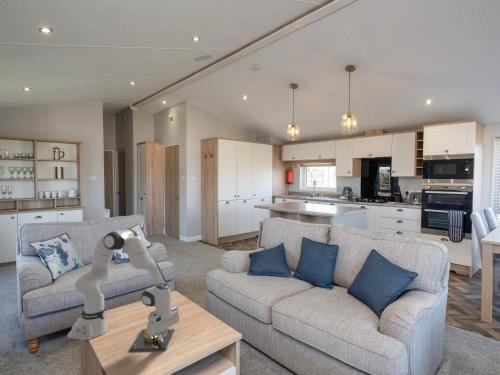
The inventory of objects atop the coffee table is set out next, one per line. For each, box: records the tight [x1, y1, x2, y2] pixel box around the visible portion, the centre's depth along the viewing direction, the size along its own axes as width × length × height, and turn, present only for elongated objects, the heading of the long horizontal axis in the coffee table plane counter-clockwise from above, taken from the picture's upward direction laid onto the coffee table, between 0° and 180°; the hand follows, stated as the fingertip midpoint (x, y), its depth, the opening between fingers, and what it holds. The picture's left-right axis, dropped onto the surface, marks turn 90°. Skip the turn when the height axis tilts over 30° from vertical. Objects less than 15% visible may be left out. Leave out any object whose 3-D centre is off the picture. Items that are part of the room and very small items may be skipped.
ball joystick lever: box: [144, 331, 163, 344], centre depth 171 cm, size 16×10×6 cm, turn 43°
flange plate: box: [129, 328, 175, 352], centre depth 173 cm, size 20×20×8 cm
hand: (164, 336), depth 168 cm, fingers closed
